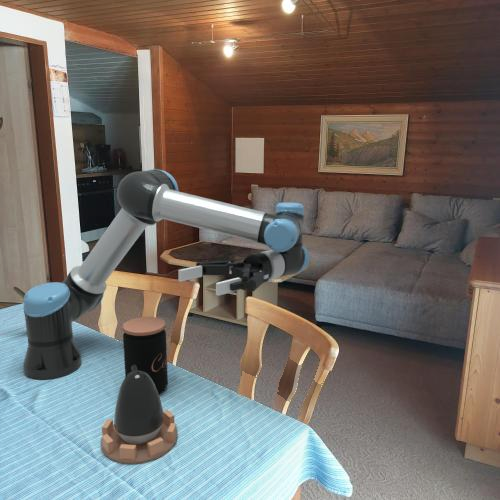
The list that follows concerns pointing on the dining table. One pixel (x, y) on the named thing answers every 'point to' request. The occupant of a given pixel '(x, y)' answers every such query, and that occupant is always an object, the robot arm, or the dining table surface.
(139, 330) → the coffee jar
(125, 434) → the pump dispenser
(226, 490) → the dining table surface
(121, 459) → the castellated collar
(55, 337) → the robot arm
